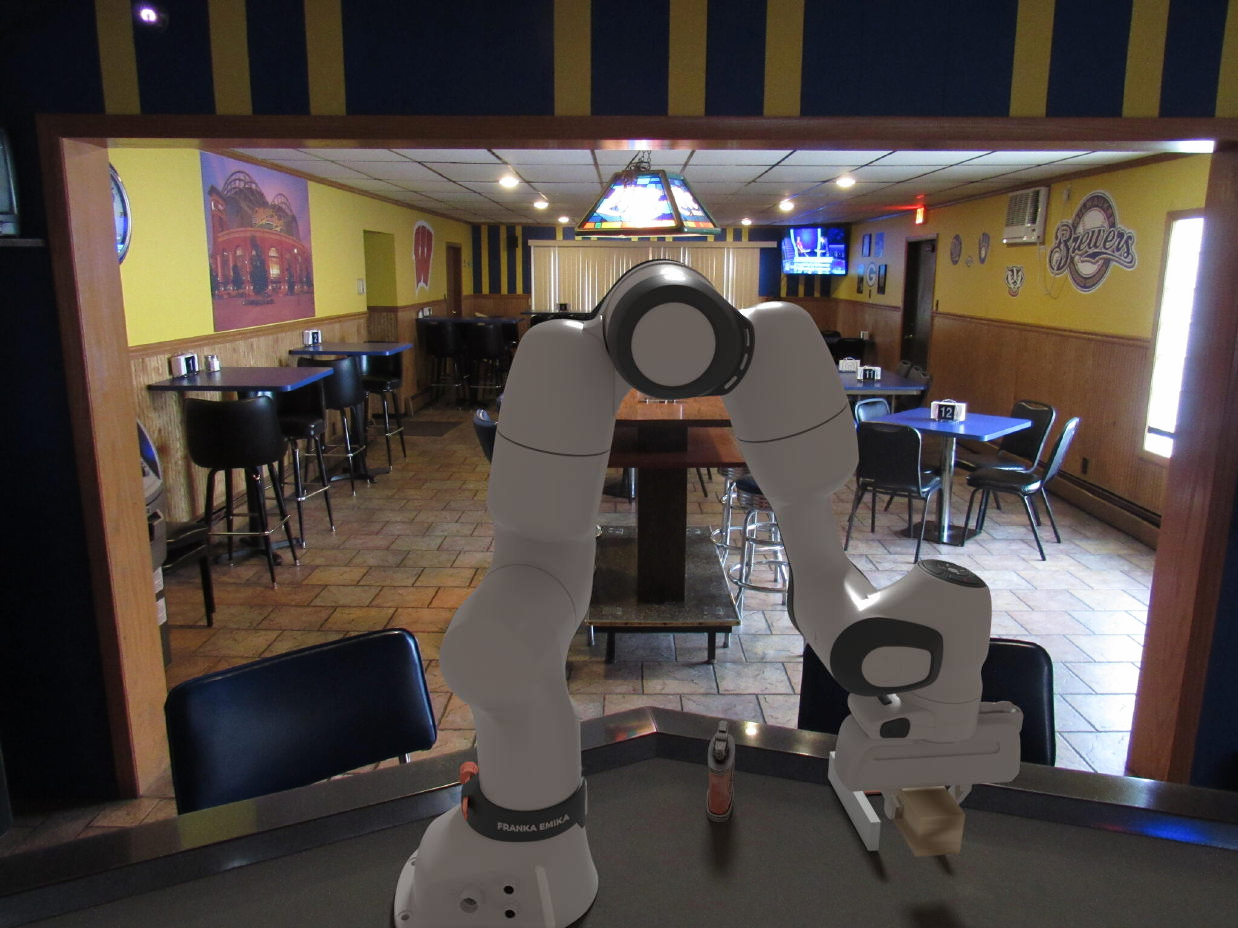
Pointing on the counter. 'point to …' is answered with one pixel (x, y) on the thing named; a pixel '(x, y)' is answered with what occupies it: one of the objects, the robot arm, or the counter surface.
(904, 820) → the maple block
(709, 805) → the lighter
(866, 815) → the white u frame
